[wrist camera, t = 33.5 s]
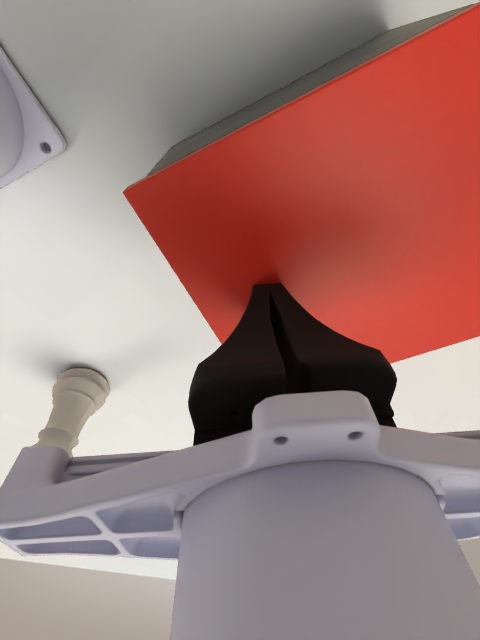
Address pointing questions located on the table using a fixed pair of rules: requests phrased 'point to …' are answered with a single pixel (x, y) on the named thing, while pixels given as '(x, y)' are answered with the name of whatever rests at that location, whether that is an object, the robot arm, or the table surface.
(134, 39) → the table surface
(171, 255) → the lid
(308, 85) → the dark grey open box
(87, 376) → the rook chess piece
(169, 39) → the table surface
